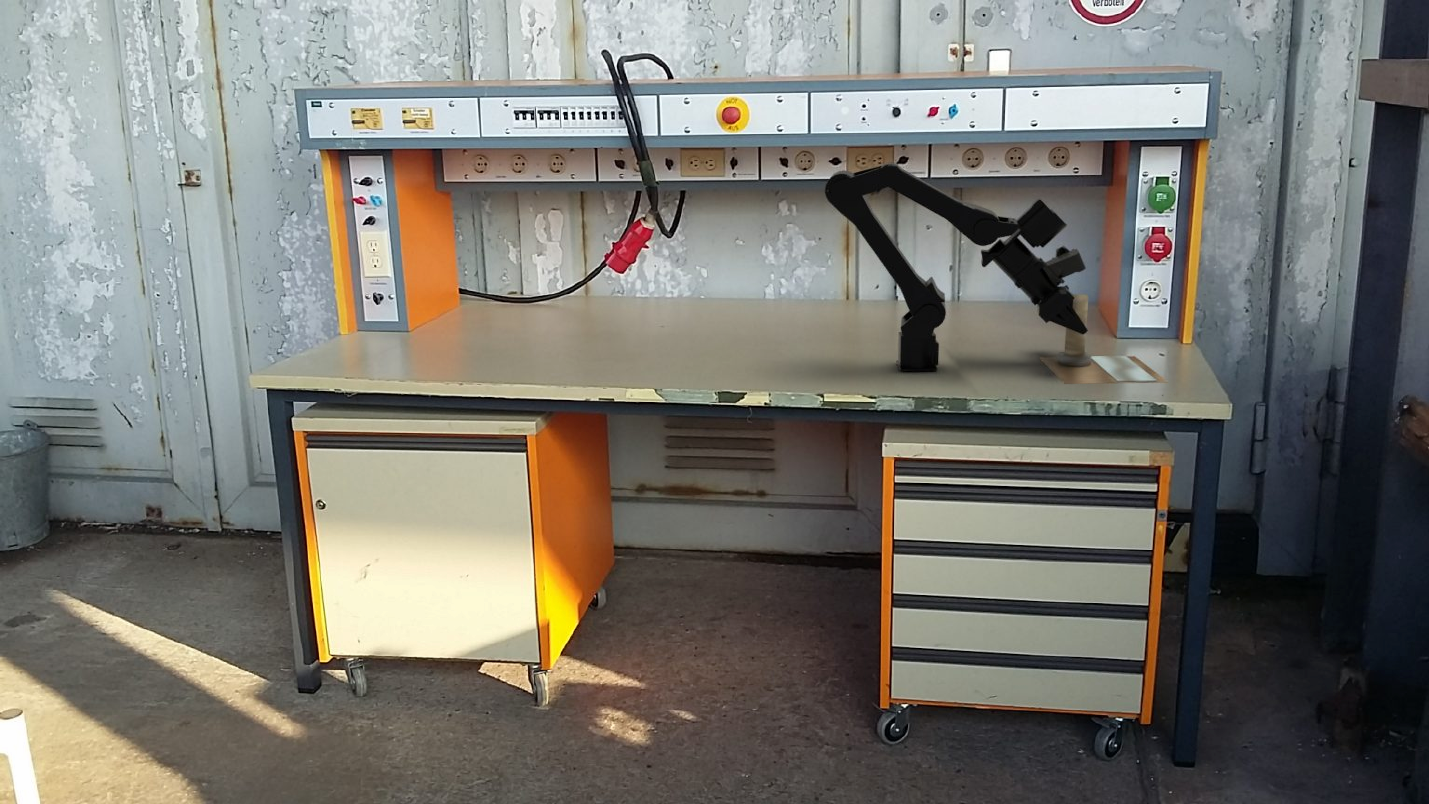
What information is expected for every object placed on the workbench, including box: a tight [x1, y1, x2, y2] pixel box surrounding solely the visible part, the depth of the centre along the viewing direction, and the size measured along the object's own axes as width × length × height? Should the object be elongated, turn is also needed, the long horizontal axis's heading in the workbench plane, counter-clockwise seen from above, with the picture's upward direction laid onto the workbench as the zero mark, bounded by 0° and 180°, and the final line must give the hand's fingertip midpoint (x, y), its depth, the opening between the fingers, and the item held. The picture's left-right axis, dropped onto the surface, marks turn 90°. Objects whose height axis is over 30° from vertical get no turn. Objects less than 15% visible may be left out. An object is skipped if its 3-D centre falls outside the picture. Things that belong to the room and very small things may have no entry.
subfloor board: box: [1039, 355, 1169, 385], centre depth 211 cm, size 17×18×1 cm
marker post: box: [1057, 293, 1092, 367], centre depth 213 cm, size 6×6×12 cm
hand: (1084, 330), depth 213 cm, fingers open, 4 cm apart
